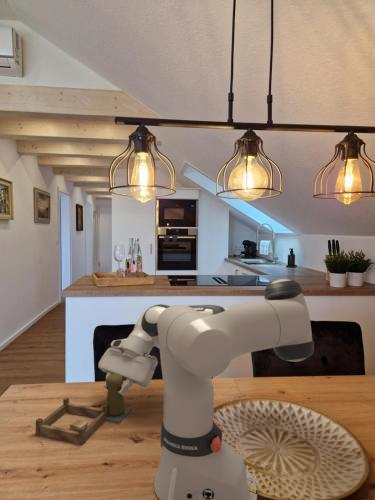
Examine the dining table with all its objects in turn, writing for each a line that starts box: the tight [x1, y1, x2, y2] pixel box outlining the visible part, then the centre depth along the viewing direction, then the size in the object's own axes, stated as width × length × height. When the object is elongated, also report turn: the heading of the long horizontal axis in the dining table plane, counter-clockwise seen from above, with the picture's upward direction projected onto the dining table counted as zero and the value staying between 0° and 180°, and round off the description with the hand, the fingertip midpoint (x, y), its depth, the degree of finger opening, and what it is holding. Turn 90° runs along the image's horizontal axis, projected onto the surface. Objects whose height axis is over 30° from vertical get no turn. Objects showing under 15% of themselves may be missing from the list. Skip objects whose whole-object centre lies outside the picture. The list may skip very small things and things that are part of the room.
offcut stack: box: [68, 419, 89, 432], centre depth 89 cm, size 5×4×4 cm
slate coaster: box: [94, 406, 132, 425], centre depth 100 cm, size 8×8×1 cm
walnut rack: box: [35, 397, 108, 446], centre depth 94 cm, size 15×13×4 cm
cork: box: [105, 373, 126, 415], centre depth 100 cm, size 6×6×11 cm
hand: (112, 391), depth 100 cm, fingers open, 5 cm apart
